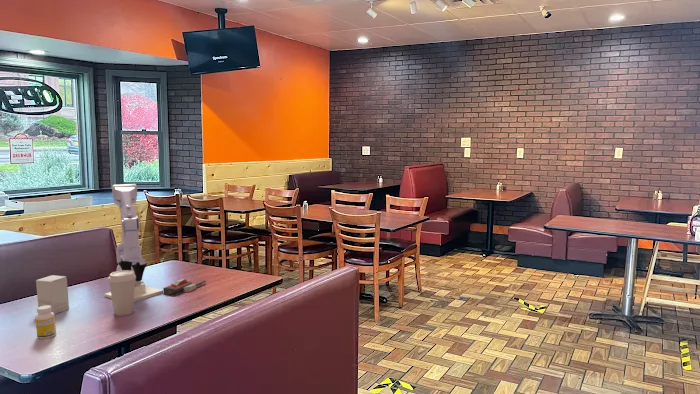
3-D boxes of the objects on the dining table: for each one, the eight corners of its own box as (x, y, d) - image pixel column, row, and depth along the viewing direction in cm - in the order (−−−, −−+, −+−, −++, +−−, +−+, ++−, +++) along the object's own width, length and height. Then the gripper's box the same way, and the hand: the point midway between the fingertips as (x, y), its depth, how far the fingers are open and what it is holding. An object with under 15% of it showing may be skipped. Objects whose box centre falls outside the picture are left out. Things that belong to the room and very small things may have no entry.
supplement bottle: (42, 333, 170) (39, 304, 169) (59, 332, 170) (57, 304, 169) (33, 339, 164) (31, 310, 163) (51, 339, 165) (49, 309, 164)
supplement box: (69, 308, 194) (67, 276, 192) (52, 315, 187) (50, 281, 185) (55, 306, 196) (52, 274, 195) (37, 313, 189) (35, 279, 188)
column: (126, 292, 210) (125, 276, 209) (135, 289, 213) (134, 274, 212) (132, 293, 207) (131, 277, 207) (141, 291, 211) (140, 275, 210)
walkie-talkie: (177, 297, 208) (207, 284, 226) (177, 287, 207) (207, 274, 226) (160, 295, 211) (191, 282, 229) (159, 285, 210) (190, 272, 229)
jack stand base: (104, 296, 208) (103, 286, 208) (139, 286, 221) (139, 276, 221) (128, 303, 199) (127, 292, 199) (163, 293, 213) (162, 282, 212)
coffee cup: (110, 318, 183) (107, 278, 181) (109, 310, 191) (106, 271, 189) (139, 314, 187) (136, 274, 185) (136, 306, 196) (134, 268, 194)
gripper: (111, 246, 209) (113, 279, 210) (133, 250, 201) (135, 284, 202) (127, 243, 214) (129, 275, 216) (149, 247, 207) (150, 280, 208)
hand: (133, 279), depth 210 cm, fingers open, 7 cm apart
